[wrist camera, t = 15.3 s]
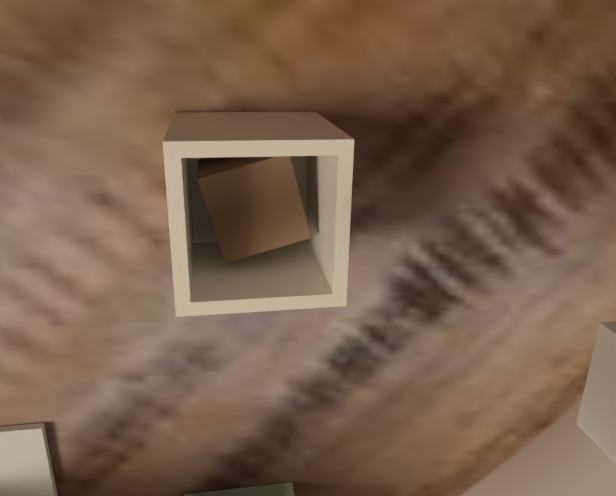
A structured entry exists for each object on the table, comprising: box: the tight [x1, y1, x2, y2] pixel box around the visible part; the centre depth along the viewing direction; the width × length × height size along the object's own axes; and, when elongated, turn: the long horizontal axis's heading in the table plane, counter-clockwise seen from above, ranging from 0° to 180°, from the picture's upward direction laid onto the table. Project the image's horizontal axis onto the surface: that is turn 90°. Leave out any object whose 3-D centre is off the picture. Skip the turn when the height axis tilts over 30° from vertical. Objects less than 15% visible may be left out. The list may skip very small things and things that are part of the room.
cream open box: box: [163, 112, 354, 317], centre depth 25 cm, size 7×7×8 cm
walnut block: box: [197, 156, 311, 263], centre depth 26 cm, size 4×4×4 cm
